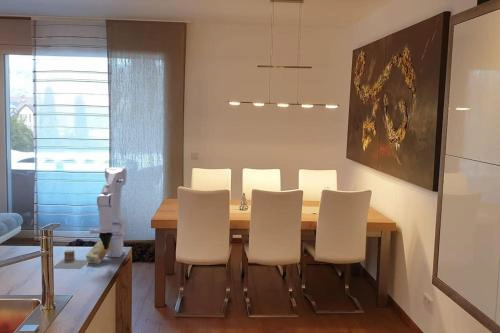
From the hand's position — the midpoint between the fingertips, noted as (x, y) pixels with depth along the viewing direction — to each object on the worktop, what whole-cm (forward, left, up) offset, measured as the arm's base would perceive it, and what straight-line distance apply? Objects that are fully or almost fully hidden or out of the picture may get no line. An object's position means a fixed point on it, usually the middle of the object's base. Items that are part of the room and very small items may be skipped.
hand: (106, 248), depth 221 cm
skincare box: (-1, -7, -6) cm, 9 cm away
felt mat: (0, -17, -8) cm, 19 cm away
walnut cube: (-7, -20, -8) cm, 23 cm away
